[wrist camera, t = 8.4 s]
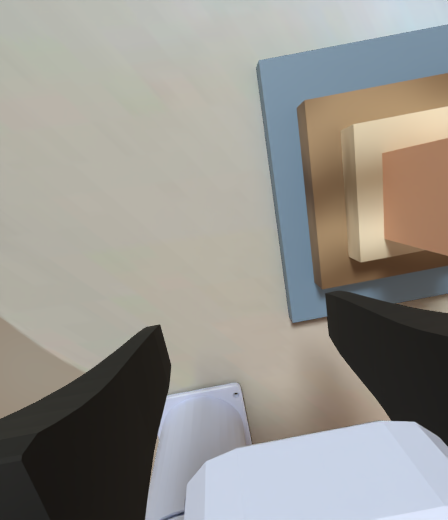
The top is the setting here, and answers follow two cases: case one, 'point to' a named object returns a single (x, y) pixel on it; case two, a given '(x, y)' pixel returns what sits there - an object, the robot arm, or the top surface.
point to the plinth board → (285, 150)
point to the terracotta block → (417, 196)
